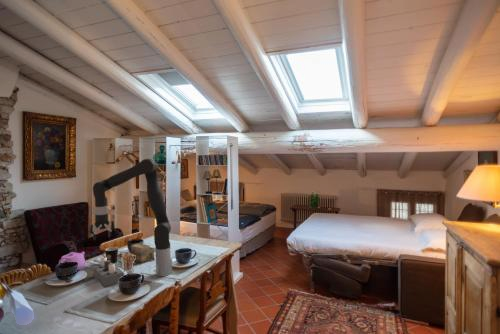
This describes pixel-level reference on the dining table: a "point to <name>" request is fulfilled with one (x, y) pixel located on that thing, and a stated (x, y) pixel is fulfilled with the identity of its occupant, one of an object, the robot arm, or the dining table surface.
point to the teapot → (74, 259)
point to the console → (107, 276)
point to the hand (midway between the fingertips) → (102, 238)
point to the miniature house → (142, 253)
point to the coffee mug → (111, 254)
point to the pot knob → (107, 265)
